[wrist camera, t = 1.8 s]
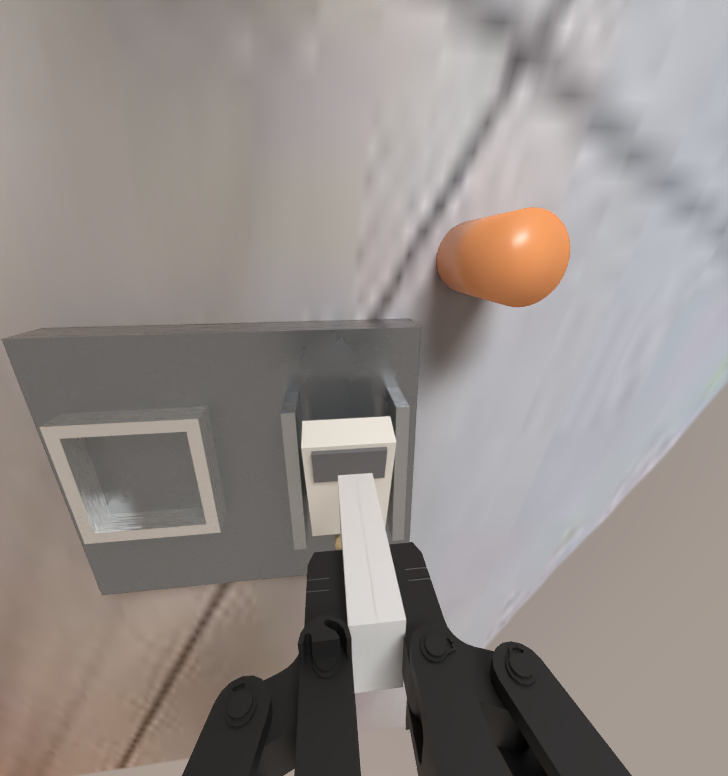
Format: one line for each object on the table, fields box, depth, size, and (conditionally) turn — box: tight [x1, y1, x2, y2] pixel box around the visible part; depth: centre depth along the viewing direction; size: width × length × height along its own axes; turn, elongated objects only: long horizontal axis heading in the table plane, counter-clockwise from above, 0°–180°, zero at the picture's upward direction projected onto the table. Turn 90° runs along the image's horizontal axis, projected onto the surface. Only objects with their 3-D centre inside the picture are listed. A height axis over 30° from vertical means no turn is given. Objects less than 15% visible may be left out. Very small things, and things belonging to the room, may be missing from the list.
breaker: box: [301, 416, 396, 536], centre depth 22 cm, size 9×5×2 cm, turn 1°
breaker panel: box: [2, 319, 421, 595], centre depth 24 cm, size 20×24×6 cm
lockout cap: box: [437, 207, 570, 307], centre depth 20 cm, size 5×5×7 cm
